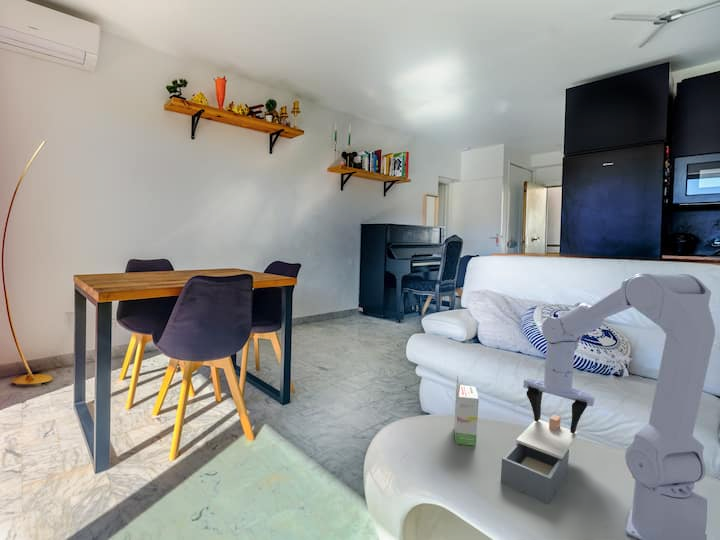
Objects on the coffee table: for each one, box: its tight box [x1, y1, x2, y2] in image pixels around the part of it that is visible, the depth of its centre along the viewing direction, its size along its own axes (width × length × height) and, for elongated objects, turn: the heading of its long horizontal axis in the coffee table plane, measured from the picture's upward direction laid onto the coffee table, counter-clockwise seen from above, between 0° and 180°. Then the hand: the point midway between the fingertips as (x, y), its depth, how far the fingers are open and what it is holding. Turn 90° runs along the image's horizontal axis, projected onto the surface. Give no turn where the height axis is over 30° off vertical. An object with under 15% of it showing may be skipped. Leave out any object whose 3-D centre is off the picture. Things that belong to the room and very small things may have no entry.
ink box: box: [453, 374, 480, 447], centre depth 91 cm, size 9×5×15 cm, turn 168°
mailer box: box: [500, 442, 570, 505], centre depth 76 cm, size 9×14×5 cm, turn 138°
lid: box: [515, 414, 579, 459], centre depth 82 cm, size 9×14×3 cm, turn 138°
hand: (554, 425), depth 86 cm, fingers open, 7 cm apart
